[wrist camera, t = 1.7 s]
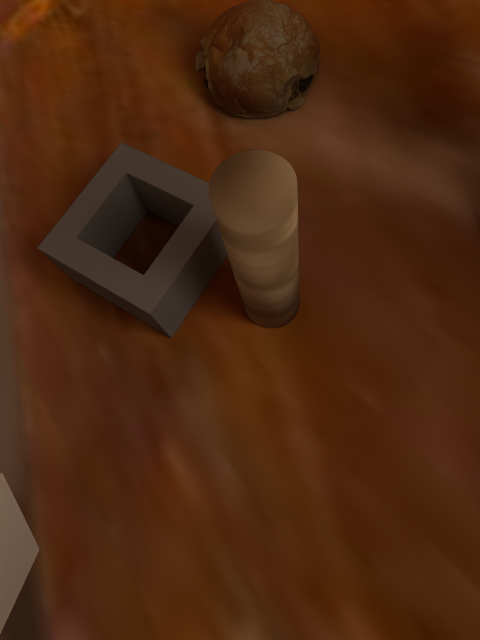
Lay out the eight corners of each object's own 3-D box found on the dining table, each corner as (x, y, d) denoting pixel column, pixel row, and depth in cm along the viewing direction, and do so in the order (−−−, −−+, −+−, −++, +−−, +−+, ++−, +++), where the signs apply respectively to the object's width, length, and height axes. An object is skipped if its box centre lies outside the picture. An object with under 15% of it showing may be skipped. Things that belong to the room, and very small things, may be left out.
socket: (143, 183, 39) (121, 142, 34) (242, 232, 36) (233, 194, 31) (71, 278, 36) (37, 248, 32) (171, 337, 34) (150, 314, 29)
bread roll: (264, 160, 42) (296, 113, 35) (171, 91, 41) (182, 25, 33) (315, 84, 45) (355, 24, 37) (228, 16, 43) (252, -62, 35)
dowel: (262, 269, 34) (238, 137, 21) (309, 292, 33) (313, 169, 20) (234, 312, 34) (191, 203, 21) (281, 337, 32) (267, 239, 19)
